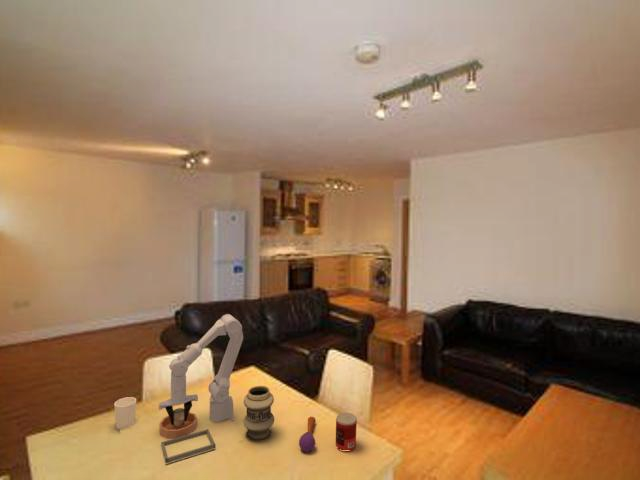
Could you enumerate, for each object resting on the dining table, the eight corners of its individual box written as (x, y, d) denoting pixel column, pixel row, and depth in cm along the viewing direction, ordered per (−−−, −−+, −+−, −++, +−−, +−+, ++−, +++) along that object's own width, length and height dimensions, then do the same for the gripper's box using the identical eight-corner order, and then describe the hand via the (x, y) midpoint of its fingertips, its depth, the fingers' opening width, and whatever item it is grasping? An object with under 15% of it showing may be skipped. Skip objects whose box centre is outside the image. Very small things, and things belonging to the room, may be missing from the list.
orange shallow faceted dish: (192, 417, 153) (192, 408, 153) (200, 434, 141) (200, 424, 141) (157, 426, 146) (157, 417, 146) (162, 444, 134) (162, 434, 134)
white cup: (127, 432, 142) (126, 407, 141) (109, 429, 143) (109, 405, 143) (140, 421, 149) (140, 398, 149) (124, 419, 151) (124, 395, 150)
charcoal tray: (207, 434, 141) (207, 429, 141) (215, 450, 132) (215, 444, 132) (161, 447, 133) (161, 442, 133) (165, 465, 123) (165, 459, 123)
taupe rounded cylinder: (183, 420, 147) (183, 407, 146) (185, 425, 143) (185, 412, 143) (172, 423, 144) (171, 409, 144) (173, 428, 141) (173, 415, 140)
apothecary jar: (237, 434, 142) (237, 390, 141) (261, 422, 151) (261, 380, 150) (255, 447, 134) (256, 401, 133) (280, 434, 143) (280, 390, 142)
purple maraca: (320, 415, 150) (315, 440, 130) (317, 429, 150) (312, 456, 130) (306, 411, 151) (299, 436, 131) (303, 425, 151) (296, 452, 131)
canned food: (357, 442, 139) (358, 414, 138) (352, 454, 131) (353, 425, 131) (338, 437, 141) (339, 410, 141) (332, 449, 134) (333, 421, 133)
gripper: (195, 380, 150) (195, 412, 151) (157, 388, 142) (157, 421, 143) (199, 387, 144) (199, 420, 145) (159, 396, 136) (160, 431, 137)
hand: (178, 421), depth 144 cm, fingers closed on taupe rounded cylinder, 4 cm apart
